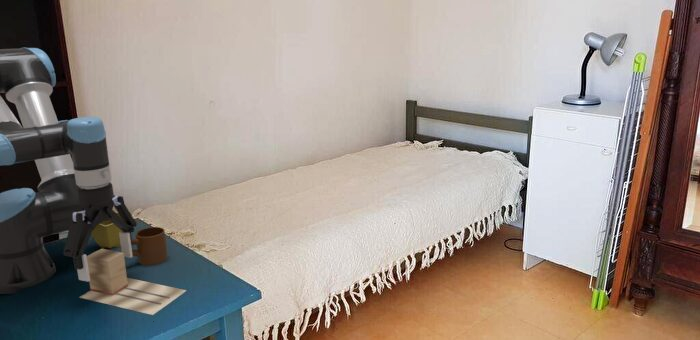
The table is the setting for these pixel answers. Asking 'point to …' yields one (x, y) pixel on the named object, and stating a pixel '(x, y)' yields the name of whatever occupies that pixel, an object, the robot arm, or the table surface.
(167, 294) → the board
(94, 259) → the block
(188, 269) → the table surface
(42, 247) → the robot arm
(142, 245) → the mug
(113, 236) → the flower pot
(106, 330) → the table surface
